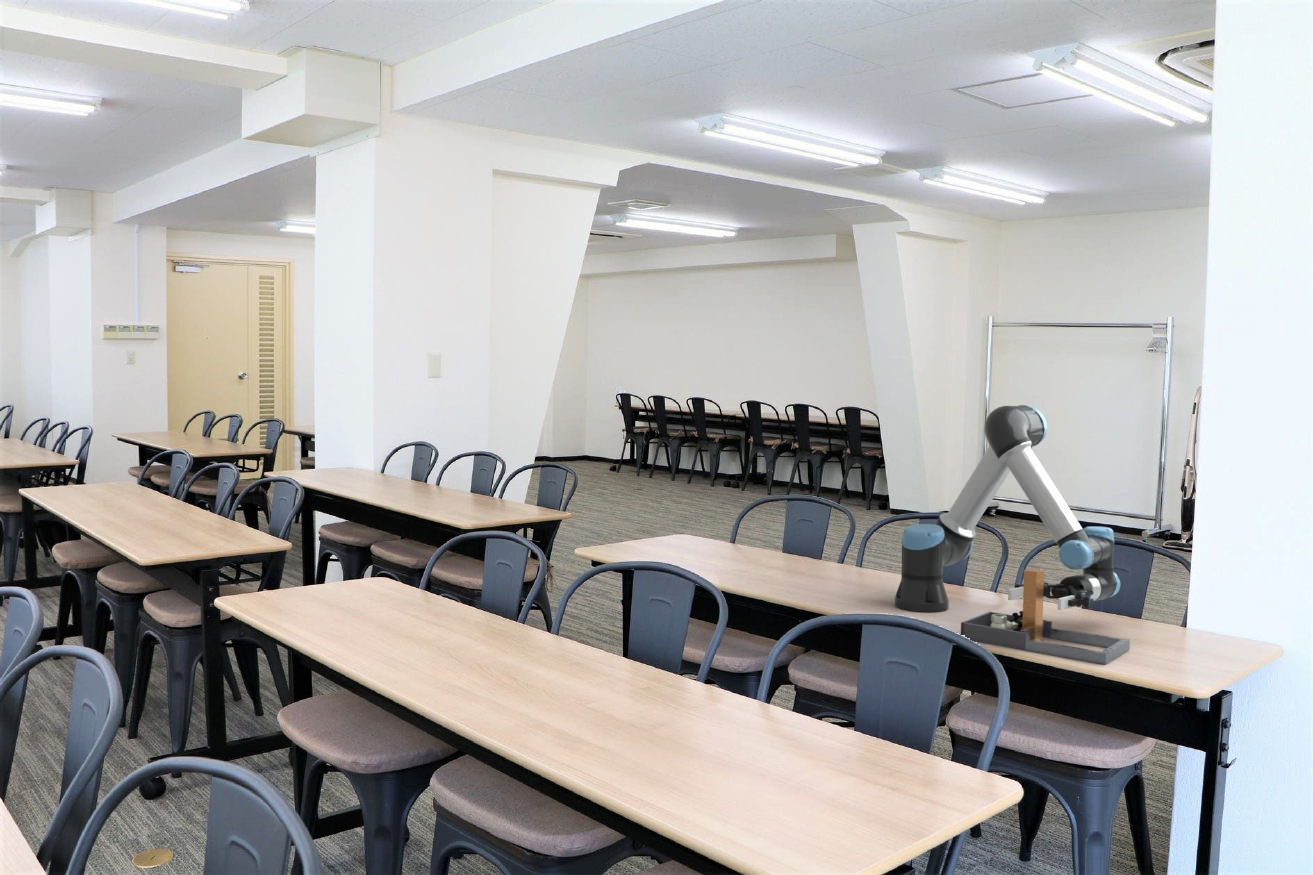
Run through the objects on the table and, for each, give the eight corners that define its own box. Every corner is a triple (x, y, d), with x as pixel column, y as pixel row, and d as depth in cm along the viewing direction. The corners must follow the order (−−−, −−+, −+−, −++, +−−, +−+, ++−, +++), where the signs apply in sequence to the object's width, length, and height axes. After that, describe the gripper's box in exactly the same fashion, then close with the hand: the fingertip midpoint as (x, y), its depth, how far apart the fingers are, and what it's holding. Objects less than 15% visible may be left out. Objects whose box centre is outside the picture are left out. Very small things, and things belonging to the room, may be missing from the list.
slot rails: (1052, 636, 252) (1052, 627, 252) (1129, 649, 240) (1129, 639, 240) (1025, 650, 239) (1025, 639, 239) (1105, 664, 227) (1106, 653, 226)
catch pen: (989, 626, 263) (989, 611, 263) (1051, 636, 252) (1052, 621, 252) (960, 638, 250) (961, 622, 250) (1025, 649, 239) (1026, 633, 239)
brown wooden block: (1033, 635, 253) (1035, 566, 252) (1049, 638, 250) (1051, 568, 250) (1013, 645, 243) (1015, 572, 242) (1030, 648, 241) (1032, 575, 240)
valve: (1004, 645, 244) (1033, 638, 251) (1005, 618, 243) (1034, 613, 250) (982, 639, 249) (1011, 633, 256) (982, 613, 249) (1012, 608, 256)
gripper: (1125, 612, 250) (1081, 623, 237) (1035, 595, 270) (989, 605, 257) (1126, 582, 249) (1081, 592, 236) (1035, 568, 269) (990, 576, 256)
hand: (1033, 599), depth 246 cm, fingers open, 13 cm apart
